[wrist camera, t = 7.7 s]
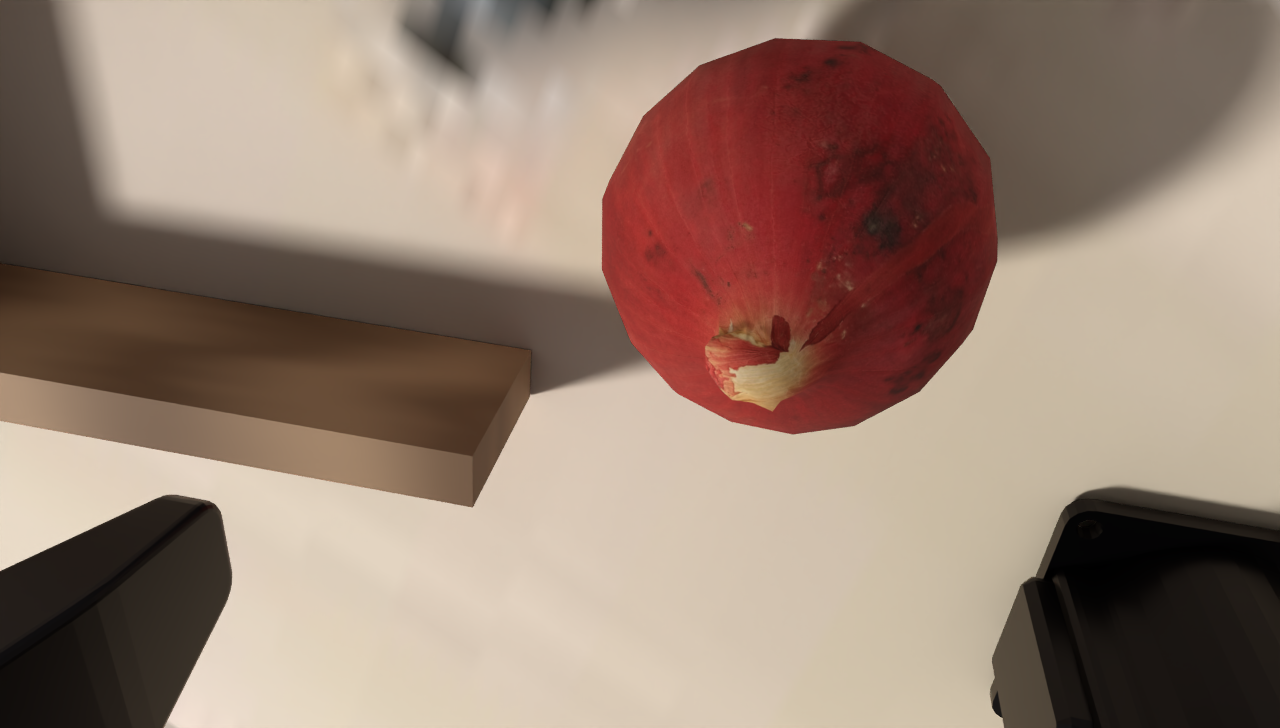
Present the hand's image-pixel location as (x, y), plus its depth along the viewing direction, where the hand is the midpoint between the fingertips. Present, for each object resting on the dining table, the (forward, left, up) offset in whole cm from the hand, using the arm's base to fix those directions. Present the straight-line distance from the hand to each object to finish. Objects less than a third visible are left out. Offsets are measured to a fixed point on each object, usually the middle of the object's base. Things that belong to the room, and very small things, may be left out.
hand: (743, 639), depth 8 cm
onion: (0, 0, -12) cm, 12 cm away
